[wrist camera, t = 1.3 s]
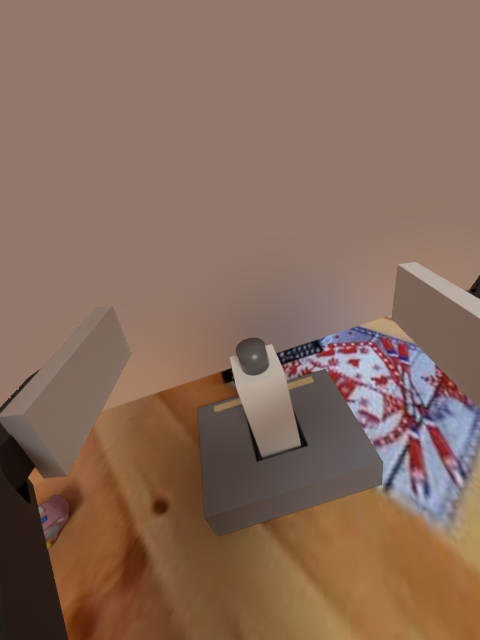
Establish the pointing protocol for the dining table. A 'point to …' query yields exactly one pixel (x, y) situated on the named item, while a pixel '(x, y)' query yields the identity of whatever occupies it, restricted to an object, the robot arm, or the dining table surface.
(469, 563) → the dining table surface
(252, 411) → the light grey tall bottle
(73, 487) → the dining table surface
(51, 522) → the video game controller
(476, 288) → the robot arm
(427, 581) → the dining table surface
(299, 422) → the grey socket base
